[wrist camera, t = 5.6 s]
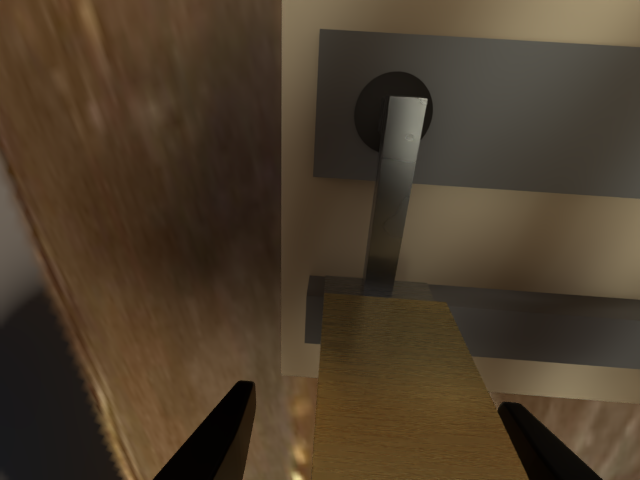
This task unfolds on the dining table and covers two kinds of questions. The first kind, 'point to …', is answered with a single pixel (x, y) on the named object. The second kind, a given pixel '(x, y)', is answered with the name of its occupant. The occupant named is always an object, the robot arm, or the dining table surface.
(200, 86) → the dining table surface
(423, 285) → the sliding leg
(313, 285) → the board with grey bars
